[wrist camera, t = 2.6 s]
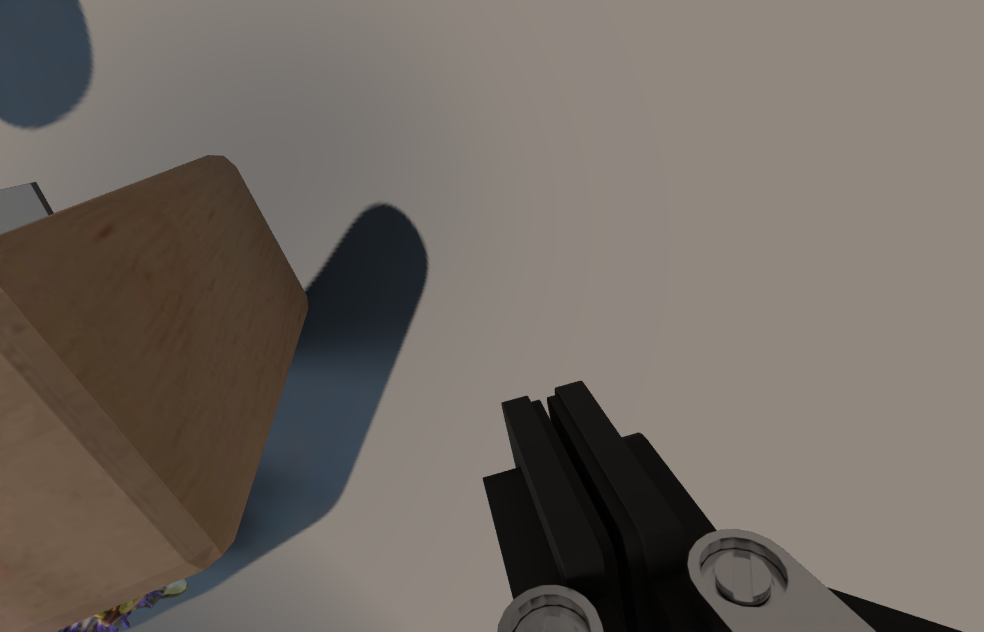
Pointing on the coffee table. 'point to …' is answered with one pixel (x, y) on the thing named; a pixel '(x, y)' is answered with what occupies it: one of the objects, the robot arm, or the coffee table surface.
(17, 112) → the coffee table surface
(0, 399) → the block
